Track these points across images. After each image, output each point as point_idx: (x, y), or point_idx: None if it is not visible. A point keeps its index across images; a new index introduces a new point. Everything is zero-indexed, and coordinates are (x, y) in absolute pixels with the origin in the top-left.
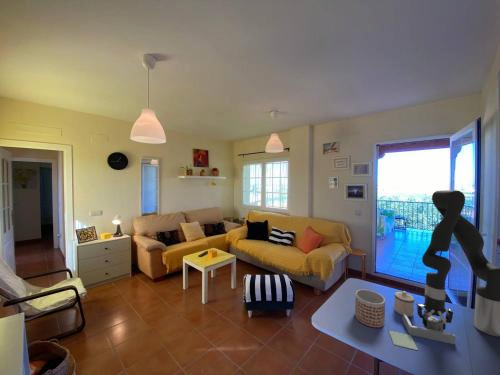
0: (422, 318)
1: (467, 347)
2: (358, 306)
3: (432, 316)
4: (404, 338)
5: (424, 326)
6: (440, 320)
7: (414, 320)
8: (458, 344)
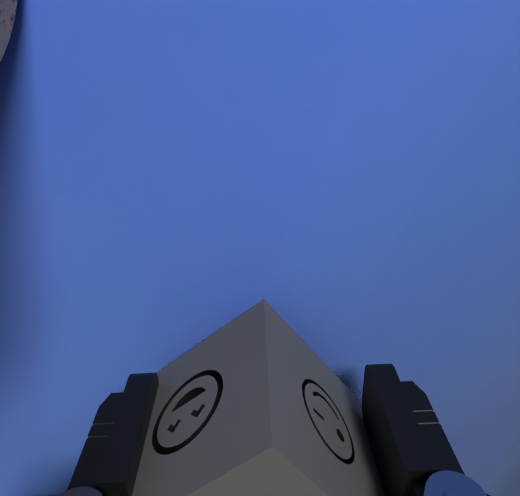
0: (71, 480)
1: (500, 491)
2: None
3: (280, 466)
4: None
5: None
6: (406, 477)
7: (32, 207)
8: None
